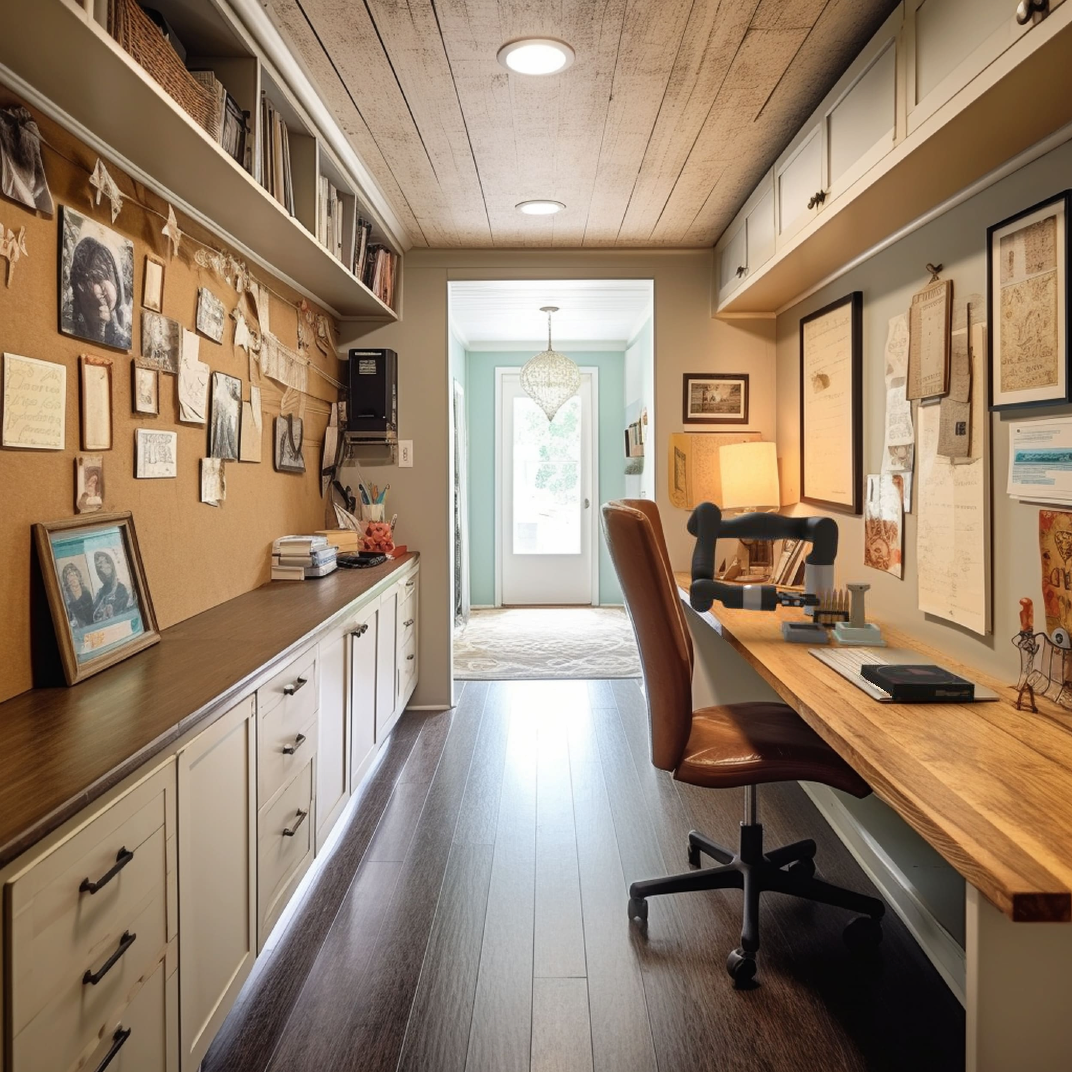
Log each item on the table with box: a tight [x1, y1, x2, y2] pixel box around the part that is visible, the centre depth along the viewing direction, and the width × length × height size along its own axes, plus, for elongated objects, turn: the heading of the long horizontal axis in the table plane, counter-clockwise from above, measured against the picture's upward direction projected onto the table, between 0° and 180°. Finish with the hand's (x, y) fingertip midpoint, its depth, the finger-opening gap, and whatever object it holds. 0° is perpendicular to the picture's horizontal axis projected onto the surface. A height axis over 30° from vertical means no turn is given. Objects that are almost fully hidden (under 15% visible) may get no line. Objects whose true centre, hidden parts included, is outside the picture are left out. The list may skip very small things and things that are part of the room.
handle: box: [845, 582, 871, 629], centre depth 216 cm, size 5×6×15 cm
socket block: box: [781, 620, 829, 645], centre depth 220 cm, size 16×11×3 cm
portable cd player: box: [859, 663, 976, 702], centre depth 165 cm, size 16×17×4 cm
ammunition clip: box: [812, 588, 850, 628], centre depth 236 cm, size 11×2×12 cm, turn 76°
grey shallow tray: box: [830, 621, 887, 648], centre depth 217 cm, size 16×12×4 cm
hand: (817, 600), depth 218 cm, fingers open, 8 cm apart
